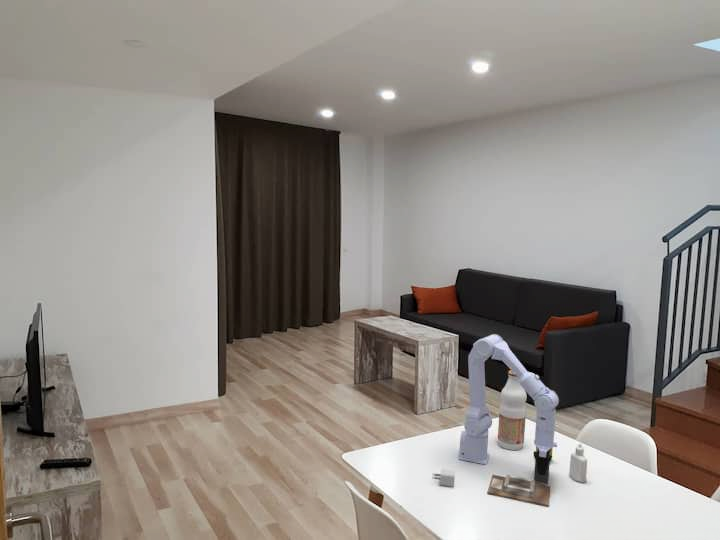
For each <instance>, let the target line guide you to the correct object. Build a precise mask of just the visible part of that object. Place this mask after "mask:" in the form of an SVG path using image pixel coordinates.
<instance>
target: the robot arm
mask: <svg viewBox="0 0 720 540" xmlns="http://www.w3.org/2000/svg"><path fill="white" fill-rule="evenodd" d="M472 346H473V347H472V348H471V350H470V352H469V353H468V358H467V362H468V387H469V408H468V410H467V412H466V416H465V417H466V419H465V421H464V426H463V427H464V430H462V431H461V433H460V436H459V437H460V438H459V451H458V454H459V455H458V459H459V460H460V461H461V460H462V461H467V462H472V463H476V464H481V465H487V464H488V460H489V458H490V453H488V448H489V447H488V446H489V429H490V428H491V427H492V425H493V419H492V417H491V415H490V409H489V408H488V407H487V397H486V373H485V372H486V371H485V362H486V361H487V360H488V359H489V358H490V357H491V358H490V359H491V360H497V361H502V362H503V363H504V364H505V365H506V366H507V367H508V369H510V370H512V371H513V372H514V373H515V374H516V375H517V376H518V377H519V379H520V385H521V386H522V387H523V388H524V390H525V392H526V394H528V395H529V396H530V397H531V398H532V400H533V402H534V403H533V404H534V407H535V408H536V417H535V418H536V419H535V433H534V440H533V444H534V446H535V448H536V447H537V450H538V452H536V450H534V451H533V458H534V460H536V464H537V471H538V474H539V475H545V474H546V471H547V467H548V464H549V462H550V461H551V459H553V454H552V455H549V453H550V450H551V449H552V450H553V448H558V443H557V442H555V441H554V439H555V429H556V428H555V427H556V426H555V425H556V410H557V409H556V407H558V405H559V402H560V399H559V396H558V394H557V393H556V391H554V390H553V389H552V390H551V389H550V388H549V387H547V386H546V385H545V384H544V383H543V382H542V381H541V380H540V376H539V375H538V374H535V373H533V372H530V371H528V370H527V369H526V368H525V366H524V365H523V363H521V362H520V360H519V359H518V358H517V356H516V355H515V354H514V353H513V352H512V350H511V349H510V348H509V345H508V343H507V342H506V341H505V340H504V339H503V338H502V337H501V336H500V335H498V334H496V333H492V334H490V335H488V336H485V337H483V338H480V339H478V340H476V341H475V342H474V343H473V344H472ZM551 462H552V461H551Z"/></svg>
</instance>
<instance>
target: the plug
mask: <svg viewBox="0 0 720 540" xmlns="http://www.w3.org/2000/svg"><path fill="white" fill-rule="evenodd" d="M534 460H535V459H534ZM550 464H551V463H550V462H549V464H548V467H547V471H546V474H545V475H539V474H538V471H537V464H536V460H535V461H534V469H533V470H534V473H533V480H535V483H539V484H544V485H549V478H550V477H549V475H550V466H551V465H550Z"/></svg>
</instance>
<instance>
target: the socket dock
mask: <svg viewBox="0 0 720 540" xmlns="http://www.w3.org/2000/svg"><path fill="white" fill-rule="evenodd" d="M486 494H487V495H491V496H494V497H501V498H504V499H510V500H514V501H517V502H523V503H529V504H533V505H537V506H542V507H546V508H550V498H551V497H550V495H551V485H548V484H543V483H538V482H535V480H534V479H532V478H526V477H521V476H516V475H511V474H506V475H505V476H502V475H496V474H492V475H491V477H490V481H489V485H488V489H487V493H486Z"/></svg>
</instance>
